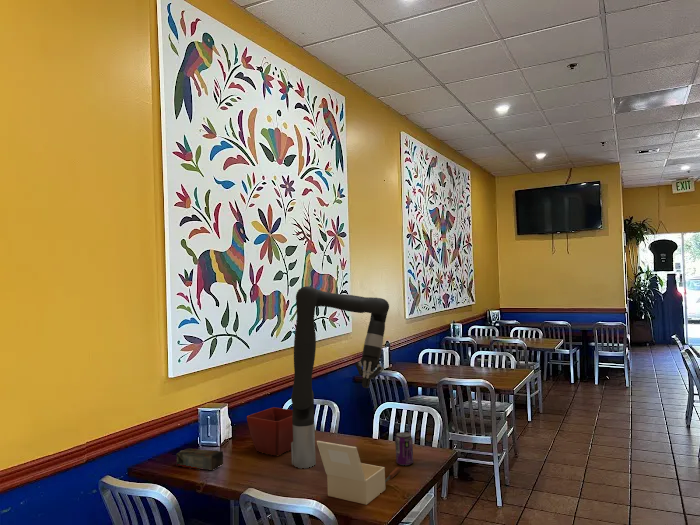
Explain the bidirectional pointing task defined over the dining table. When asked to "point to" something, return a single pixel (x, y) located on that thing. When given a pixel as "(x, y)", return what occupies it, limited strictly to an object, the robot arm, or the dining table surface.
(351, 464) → the box lid
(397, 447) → the beverage can
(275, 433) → the plant pot
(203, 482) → the dining table surface
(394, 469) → the screwdriver
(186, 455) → the dark brown block
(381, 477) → the cardboard box
